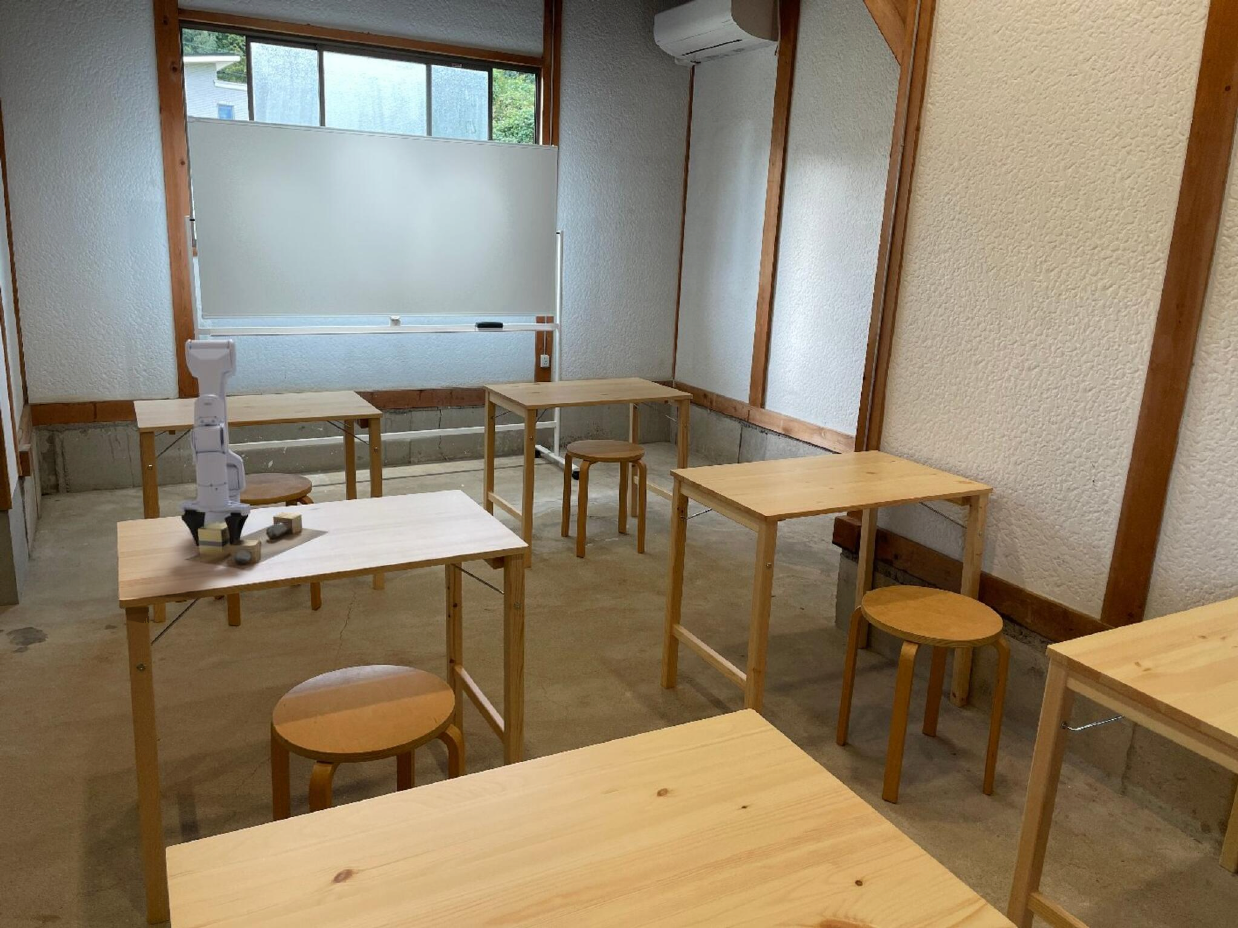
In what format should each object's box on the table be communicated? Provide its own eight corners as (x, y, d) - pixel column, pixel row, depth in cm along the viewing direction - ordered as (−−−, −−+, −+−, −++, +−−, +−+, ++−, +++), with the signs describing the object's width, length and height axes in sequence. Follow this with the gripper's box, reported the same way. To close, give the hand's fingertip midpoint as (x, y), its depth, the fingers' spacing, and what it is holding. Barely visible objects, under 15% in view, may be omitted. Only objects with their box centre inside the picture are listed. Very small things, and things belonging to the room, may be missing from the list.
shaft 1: (243, 550, 188) (242, 533, 187) (266, 550, 188) (265, 533, 187) (229, 565, 179) (228, 547, 178) (254, 565, 179) (253, 547, 178)
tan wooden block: (199, 556, 183) (197, 529, 182) (213, 548, 188) (211, 521, 187) (223, 558, 183) (220, 530, 181) (236, 550, 188) (234, 523, 186)
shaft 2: (281, 540, 195) (280, 523, 194) (262, 538, 196) (261, 521, 195) (305, 528, 203) (304, 512, 203) (286, 526, 205) (285, 510, 204)
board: (185, 564, 182) (184, 559, 182) (275, 528, 207) (275, 523, 206) (244, 574, 177) (243, 569, 177) (329, 536, 202) (329, 531, 202)
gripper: (167, 485, 179) (173, 549, 182) (235, 489, 177) (240, 554, 180) (188, 477, 186) (193, 539, 189) (253, 481, 184) (258, 543, 187)
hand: (217, 546), depth 185 cm, fingers open, 7 cm apart
